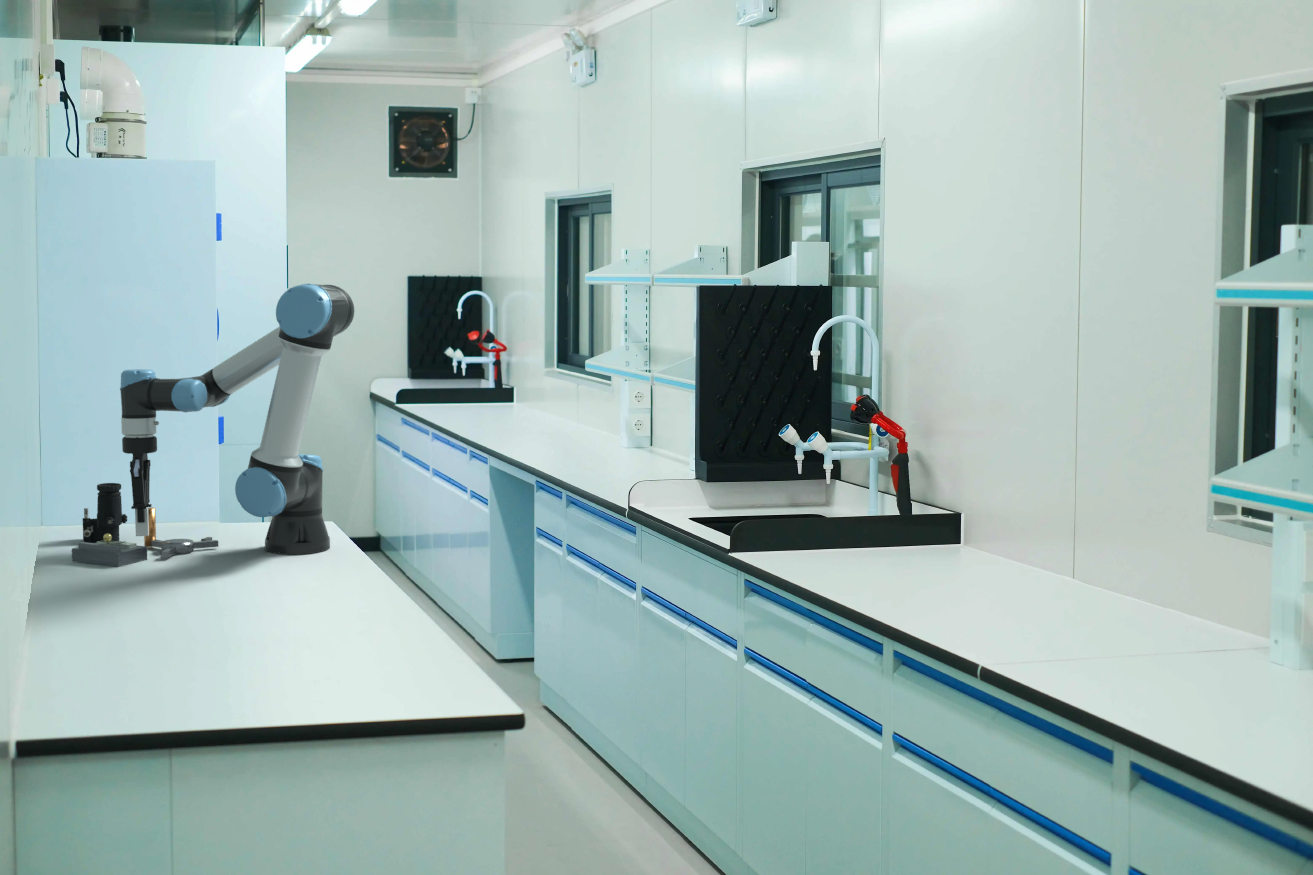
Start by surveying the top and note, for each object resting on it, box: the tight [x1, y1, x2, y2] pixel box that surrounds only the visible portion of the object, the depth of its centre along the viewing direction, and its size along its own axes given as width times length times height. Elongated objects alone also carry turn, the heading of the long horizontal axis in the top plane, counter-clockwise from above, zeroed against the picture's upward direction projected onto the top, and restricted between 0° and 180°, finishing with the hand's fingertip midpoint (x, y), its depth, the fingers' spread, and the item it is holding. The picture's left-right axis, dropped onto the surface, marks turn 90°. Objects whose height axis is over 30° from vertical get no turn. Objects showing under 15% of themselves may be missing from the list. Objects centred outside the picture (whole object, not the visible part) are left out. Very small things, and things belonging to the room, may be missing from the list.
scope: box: [82, 482, 128, 543], centre depth 311 cm, size 8×14×10 cm
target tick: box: [200, 536, 213, 541], centre depth 313 cm, size 3×1×1 cm, turn 168°
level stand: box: [71, 534, 148, 568], centre depth 290 cm, size 13×9×6 cm
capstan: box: [143, 507, 219, 559], centre depth 301 cm, size 16×17×9 cm
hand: (142, 535), depth 300 cm, fingers closed
